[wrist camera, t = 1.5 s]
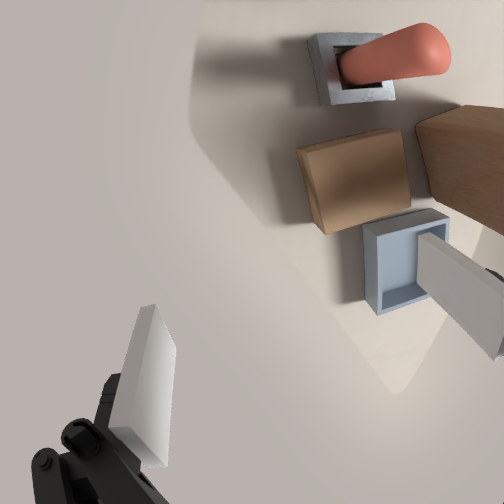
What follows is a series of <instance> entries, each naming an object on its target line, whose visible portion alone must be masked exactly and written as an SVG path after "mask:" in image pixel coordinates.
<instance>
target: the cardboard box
mask: <svg viewBox="0 0 504 504" xmlns="http://www.w3.org/2000/svg"><path fill="white" fill-rule="evenodd" d="M296 152H297V156H298V159H299V163H300V167H301V171H302V175H303V179H304V183H305V187H306V191H307V195H308V199H309V204H310V208H311V212H312V216H313V221H314V223H315V224H316V225H317V227H318V228H319V229H320V230H321V231H322V232H323V233H324V234H325V235H327V234H330V233H333V232H336V231H340V230H343V229H346V228H349V227H352V226H355V225H358V224H361V223H364V222H367V221H370V220H373V219H376V218H379V217H382V216H385V215H388V214H391V213H394V212H398V211H401V210H404V209H407V208H410V207H411V198H410V189H409V181H408V173H407V166H406V159H405V153H404V147H403V141H402V135H401V131H397V130H389V129H379V130H374V131H369V132H365V133H360V134H356V135H352V136H347V137H343V138H339V139H335V140H331V141H326V142H322V143H319V144H315V145H311V146H307V147H303V148H299V149H296Z"/></svg>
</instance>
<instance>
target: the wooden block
mask: <svg viewBox="0 0 504 504" xmlns="http://www.w3.org/2000/svg"><path fill="white" fill-rule="evenodd" d="M416 133H417V137H418V140H419V144H420V147H421V151H422V155H423V159H424V163H425V167H426V171H427V175H428V180H429V184H430V189H431V194H432V196H433V198H434V199H435V200H436V201H437V202H439V203H442V204H444V205H446V206H448V207H450V208H452V209H454V210H456V211H458V212H460V213H462V214H464V215H466V216H468V217H470V218H472V219H474V220H476V221H478V222H479V223H481V224H483V225H485V226H487V227H489V228H491V229H492V230H494V231H496V232H498V233H500V234H501V235H503V236H504V109H503V108H494V107H484V106H472V105H464V106H461V107H458V108H456V109H453V110H450V111H447V112H445V113H442V114H439V115H437V116H434V117H431V118H429V119H426V120H423V121H421V122H420V123H418V124H417V125H416Z"/></svg>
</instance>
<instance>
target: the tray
mask: <svg viewBox="0 0 504 504" xmlns="http://www.w3.org/2000/svg"><path fill="white" fill-rule="evenodd" d="M449 223H450V217H448V216H446V215H444V214H442V213H441V212H439V211H437V210H435V209H433V208H431V209H427V210H422V211H418V212H414V213H410V214H406V215H401V216H397V217H393V218H389V219H385V220H381V221H376V222H372V223H368V224H364V225H362V230H363V247H364V269H365V300H366V302H367V303H368V304H369V305H370V307H371V308H372V309H373V311H374V312H375V313H376V315H377V316H378V315H381V314H384V313H387V312H389V311H392V310H395V309H398V308H401V307H404V306H407V305H409V304H412V303H415V302H417V301H420V300H423V299H425V298H428V297H431V296H430V295H429V294H428V293H427V292H425V291H424V290H423V289H422V288H421V287H420V286H419V285H418V284H417V266H418V235H422V234H425V233H429V232H431V233H432V234H434V235H435V236H437V237H438V238H440V239H442V240H443V241H445V242H446V243H448V242H449Z"/></svg>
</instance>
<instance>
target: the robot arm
mask: <svg viewBox="0 0 504 504" xmlns="http://www.w3.org/2000/svg"><path fill="white" fill-rule="evenodd" d="M417 284H418V285H419V286H420V287H421V288H422V289H423V290H424V291H425V292H427V293H428V294H429V295H430V296H431V297H432V298H433V299H434V300H435V301H436V302H437V303H438V304H439V305H440V306H441V307H442V308H443V309H444V310H445V311H446V312H447V313H448V314H449V315H450V316H451V317H452V318H453V319H454V320H455V321H456V322H457V323H458V324H459V325H460V326H461V327H462V328H463V329H464V330H465V331H466V332H467V333H468V334H469V335H470V336H471V337H472V338H473V339H474V340H475V342H476V343H477V344H478V345H479V346H480V347H481V348H482V349H483V350H484V351H485V352H486V353H487V354H488V356H489V357H490V358H491V359H492V360H493V361H496V360H498V359H499V358H501V357H502V356H504V278H503V277H502V276H501V275H499V274H498V273H497V272H494V271H492V270H489V269H487V268H486V269H484V268H483V267H481V266H480V265H478V264H477V263H476V262H474V261H473V260H471V259H470V258H468V257H467V256H466V255H464V254H463V253H461V252H460V251H458V250H457V249H455V248H454V247H452V246H451V245H449V244H448V243H446V242H445V241H443V240H442V239H440V238H438V237H437V236H435V235H434V234H432V233H431V232H429V233H425V234H422V235H418V266H417ZM175 359H176V347H175V345H174V343H173V341H172V338H171V336H170V334H169V332H168V330H167V328H166V326H165V323H164V321H163V319H162V317H161V315H160V312H159V310H158V308H157V306H156V304H153V305H149V306H145V307H141V308H140V311H139V314H138V317H137V321H136V324H135V327H134V330H133V334H132V337H131V340H130V344H129V347H128V351H127V354H126V358H125V362H124V365H123V369H122V372H121V373H118V374H112V375H111V376H110V377H109V379H108V380H107V382H106V383H105V385H104V388H103V391H102V396H101V398H100V402H99V403H100V405H99V406H98V409H97V413H96V416H95V420H94V424H93V423H92V422H91V421H90V420H88V419H85V418H80V419H76V420H74V421H72V422H70V423H69V424H68V425H67V426H66V427H65V429H64V430H63V432H62V436H61V441H62V444H63V445H64V446H65V447H66V448H67V449H68V450H69V451H70V452H67V453H64V454H60V455H59V454H58V453H57V452H56V451H55V450H54V449H51V448H43V449H41V450H39V451H38V452H37V453H36V454H35V455H34V457H33V460H32V465H31V469H32V479H33V488H34V495H35V503H36V504H169V503H168V502H167V501H166V500H165V498H164V497H163V496H162V495H161V494H160V493H159V492H158V491H157V489H156V488H155V487H154V486H153V485H152V483H151V482H150V481H149V480H148V479H147V477H146V476H145V475H144V474H143V473H142V472H141V471H140V465H141V462H142V463H143V464H144V465H145V466H146V467H147V468H167V467H168V451H169V433H170V418H171V405H172V392H173V380H174V370H175ZM503 504H504V503H503Z"/></svg>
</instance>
